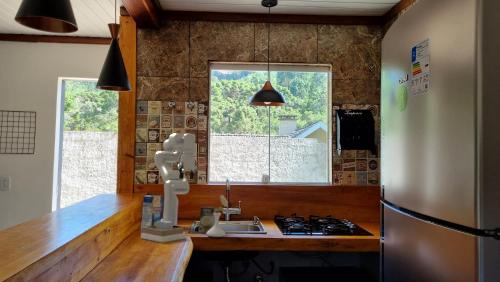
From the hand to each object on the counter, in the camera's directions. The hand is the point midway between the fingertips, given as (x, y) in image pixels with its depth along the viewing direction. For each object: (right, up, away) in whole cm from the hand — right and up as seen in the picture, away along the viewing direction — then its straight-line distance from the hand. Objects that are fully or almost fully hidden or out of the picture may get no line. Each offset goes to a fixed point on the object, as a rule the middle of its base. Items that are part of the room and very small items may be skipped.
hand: (186, 178), depth 225 cm
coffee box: (+13, -34, -4) cm, 37 cm away
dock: (-7, -30, -31) cm, 43 cm away
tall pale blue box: (-7, -27, -30) cm, 41 cm away
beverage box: (-19, -31, -16) cm, 40 cm away
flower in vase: (+21, -33, -16) cm, 42 cm away
